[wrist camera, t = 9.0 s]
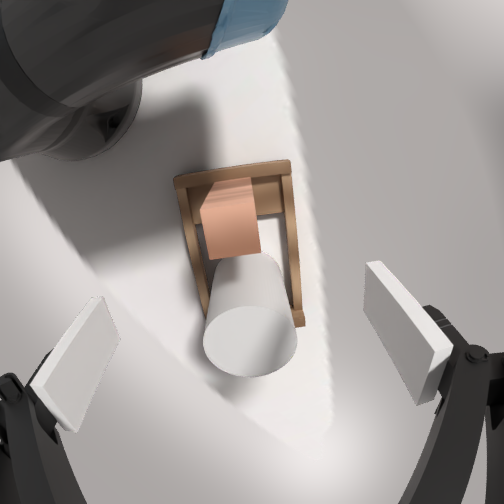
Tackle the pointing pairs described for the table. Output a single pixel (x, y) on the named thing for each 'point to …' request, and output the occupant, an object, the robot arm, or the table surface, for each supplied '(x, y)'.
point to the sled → (238, 217)
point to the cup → (249, 317)
